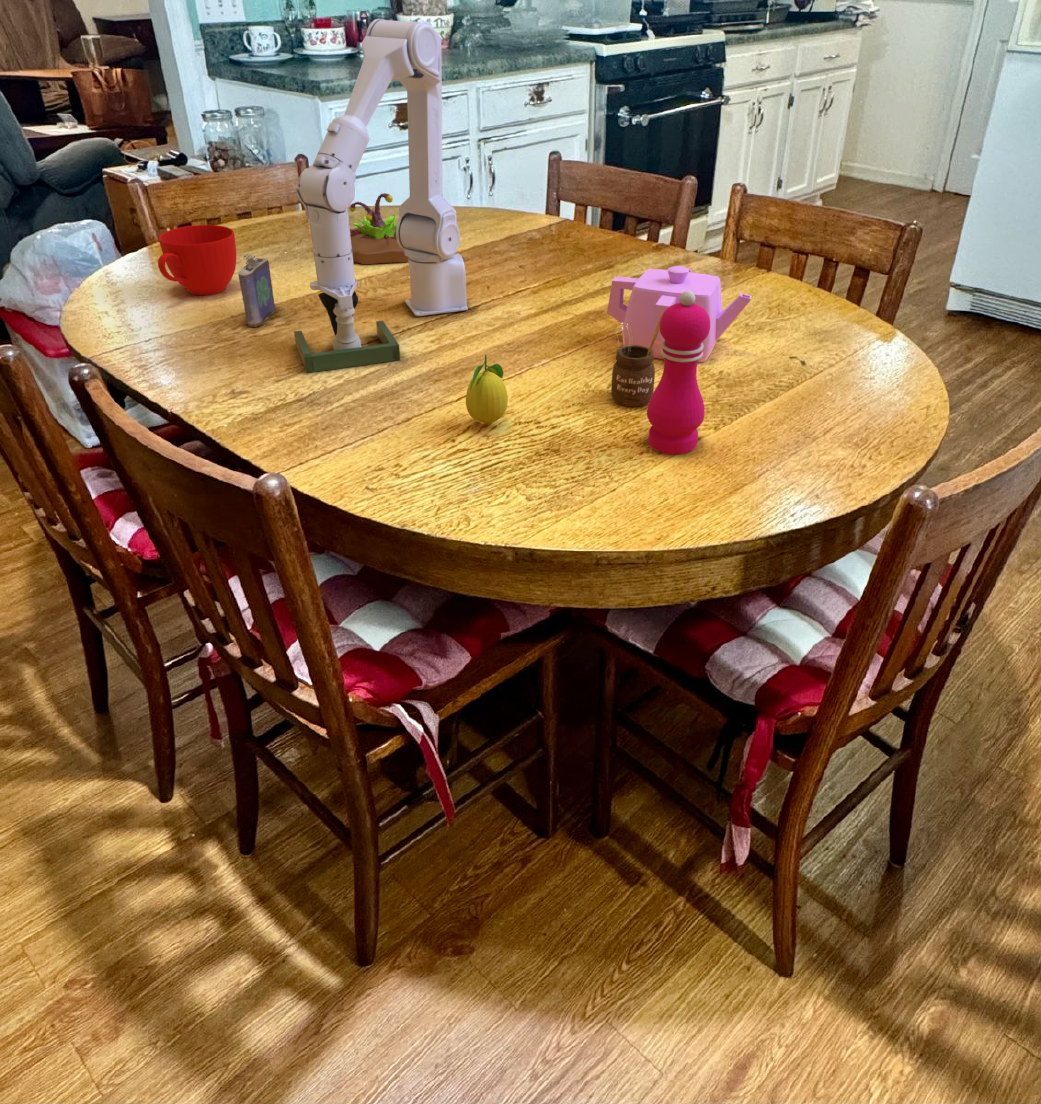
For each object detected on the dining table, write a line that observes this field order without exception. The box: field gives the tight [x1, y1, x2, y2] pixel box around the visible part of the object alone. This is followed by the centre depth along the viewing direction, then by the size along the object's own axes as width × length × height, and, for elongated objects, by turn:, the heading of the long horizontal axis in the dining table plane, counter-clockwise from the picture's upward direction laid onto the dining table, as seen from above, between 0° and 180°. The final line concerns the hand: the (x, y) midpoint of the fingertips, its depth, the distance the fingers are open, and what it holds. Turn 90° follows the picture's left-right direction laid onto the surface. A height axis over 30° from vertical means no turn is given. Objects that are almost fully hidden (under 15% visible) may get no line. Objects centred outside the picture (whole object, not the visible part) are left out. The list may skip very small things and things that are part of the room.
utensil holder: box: [610, 315, 662, 407], centre depth 124 cm, size 6×6×12 cm
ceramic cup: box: [157, 224, 237, 296], centre depth 162 cm, size 13×17×10 cm
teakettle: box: [606, 265, 753, 363], centre depth 140 cm, size 17×17×12 cm
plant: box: [348, 192, 409, 265], centre depth 183 cm, size 20×20×11 cm
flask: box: [238, 253, 277, 328], centre depth 151 cm, size 9×3×11 cm, turn 172°
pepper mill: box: [646, 291, 710, 455], centre depth 111 cm, size 7×7×20 cm
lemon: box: [465, 353, 509, 426], centre depth 118 cm, size 7×6×10 cm
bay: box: [293, 320, 401, 374], centre depth 141 cm, size 14×11×2 cm
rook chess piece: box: [332, 304, 363, 351], centre depth 138 cm, size 4×4×8 cm
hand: (343, 338), depth 143 cm, fingers closed
